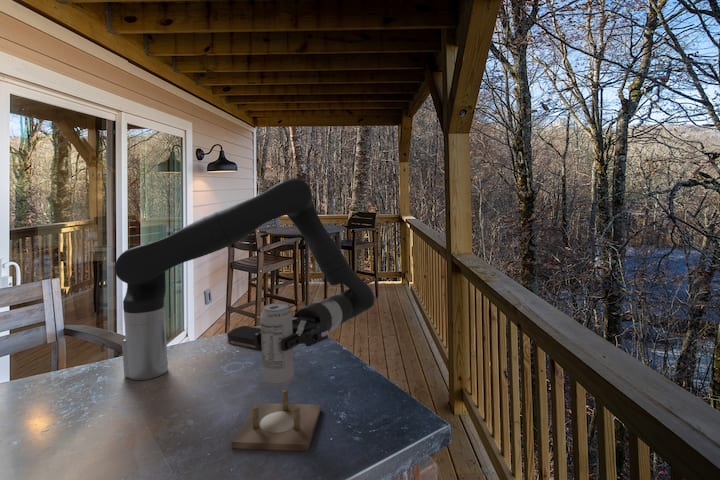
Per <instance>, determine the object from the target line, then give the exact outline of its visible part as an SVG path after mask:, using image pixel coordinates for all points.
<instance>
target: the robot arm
mask: <svg viewBox="0 0 720 480" xmlns="http://www.w3.org/2000/svg"><path fill="white" fill-rule="evenodd" d="M284 216H287V218H289V220H290V221H291V222H292V223H293V224H294V225H295V227H296V228H297V229H298V231H299V232H300V234H301V235H302V237H303V239H304V240H305V242H306V244H307V246H308V248H309V250H310V252H311V254H312V256H313V258H314V260H315V262H316V264H317V266H318V268H319V269H320V271H321V273H322V274H323V276H324V278H325V279H326V281H327V282H328V284H329V285H331V286H338V285H341V284H342V285H345V286H346V287H347V288H348V289H346V290H344V291H343V292H341V293H340V294H335V295H332V296H330V297H326V298H325V299H319V300H317V301H315V302H313V303H312V302H311V303H310V304H308V305H304V306H303V307H301V308H299V309H298V310H297V311H296V313H295V314H294V316H292V327H293V334H292V335H290V336H288V337H286V338H284V339H282V340H281V350H282V351H287V350H289V349H291V348H293V349H294V348H295V347H296V346H297V347H301V346H303V345H304V344H305V346H306V347H312V346H314V345H316V344H318V343H321V342H323V341H326V340H327V339H328V338H329V333H331V332H333V330H335V329H336V328H337V327H339V326H341V325H343V324H345V322H347V321H349V320H351V319H353V318H354V317H355V318H356V317H357V316H358V315H360V314H362V313H364V312H366V311H368V310H370V309H371V308H373V306H374V305H375V295H374V292H373V290H372V289H371V287H370V286H369V284H367V283H366V282H365V281H364V280H363V279H362V278H361V277H360V276H359V275H358V274H357V273H356V272H355V271H354V270H353V268H351V266H350V264H349V263H348V261H347V259H346V258H345V256H344V254H343V253H342V251H341V248H340V247H339V246H338V245H337V242H336V241H334V239H333V238H332V236H331V235H330V234H329V233H328V231H327V229H326V228H325V226H324V225H323V223H322V221H321V219H320V217H319V215H318V212H317V209H316V207H315V205H314V202H313V194H312V189H311V187H310V185H309V184H308V183H307V182H306V181H304V180H303V179H301V178H287V179H286V180H283V181H282V182H280V183H278V184H276V185H274V186H272V187H270V188H269V189H267V190H265V191H264V192H261V193H260V194H258V195H256V196H254V197H251V198H248V199H246V200H244V201H241V202H238V203H235V204H233V205H230V206H228V207H226V208H223V209H220V210H218V211H215V212H213V213H211V214H208V215H206V216H203V217H202V218H200V219H198V220H196V221H193V222H192V223H190V224H187V225H186V226H184V227H182V228H180V229H179V230H177V231H175V232H174V233H173V234H170V235H168V236H166V237H164V238H161V239H158V240H156V241H153V242H152V241H151V242H150V243H148V244H147V243H146V244H142V245H138V246H133V247H131V248H128V249H126V250H125V251H123V252H121V254H120V255H119V256H118V258H117V260H116V261H115V265H114V273H115V275H116V277H117V278H118V279H119V280H120V281H121V282H124V283H125V284H126V285H127V286H126V293H125V296H124V298H123V300H122V301H123V302H122V306H123V307H122V309H123V319H124V320H123V321H124V335H125V338H124V339H123V340H122V341H121V348H122V350H121V351H122V362H123V363H122V364H123V376H124V378H129V379H130V380H133V381H146V380H150V379H156V378H158V377H160V376H163V375H164V374H165V373H167V372H168V370H169V368H168V367H169V366H168V364H169V362H168V361H169V360H168V349H167V348H168V347H167V346H168V345H167V331H166V330H167V329H166V328H167V327H166V314H165V313H166V312H165V311H166V310H165V297H166V291H167V290H166V287H167V286H166V282H167V281H166V272H167V271H169V270H170V269H172V268H174V267H176V266H178V265H180V264H183V263H186V262H189V261H192V260H195V259H199V258H201V257H204V256H207V255H210V254H213V253H216V252H217V251H221V250H223V249H225V248H227V247H230V246H232V245H235V244H236V243H238V242H240V241H241V240H244V238H247V237H249V235H251V234H252V233H253V232H254V231H256V230H257V229H258V228H260V227H262V226H264V224H266V223H268V222H271V221H273V220H276V219H279V218H281V217H284ZM254 344H255V345H261V332H259V333H256V334H255V335H254Z"/></svg>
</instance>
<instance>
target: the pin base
mask: <svg viewBox="0 0 720 480" xmlns="http://www.w3.org/2000/svg"><path fill="white" fill-rule="evenodd" d="M281 395H282V397H281V398H282V399H281V400H282V401H281V403H272V402H271V403H270V402H256V403H255V404H254V406H252V408H251V410H250V412H249V414H248V415H247V417H246V418H245V420H244V421H243V423H242V425H241V426H240V427H239V429H238V431H237V433H236V434H235V435H234V438H232V440H231V443H230V445H231V449H243V450H244V449H245V450H247V449H248V450H269V451H270V450H273V451H297V452H299V451H303V452H309V448H310V446H311V443H312V439H313V437H314V434H315V430H316V427H317V424H318V421H319V417H320V414H321V411H322V405H321V404H310V403H309V404H308V403H306V404H305V403H304V404H303V403H289V390H288V389H284V390H282V391H281Z"/></svg>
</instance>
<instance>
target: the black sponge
mask: <svg viewBox="0 0 720 480" xmlns="http://www.w3.org/2000/svg"><path fill="white" fill-rule="evenodd" d="M259 332H261V327H260V328H259V327H254V326H248V325H241V326H238V327H235V328H233V329H231V330H230V331H229V332H227V333H226V335H227V343H228V344H232V345H236V346H237V345H238V346H243V347H248V348H253V349H256V350H262V346H261V345H255V344H254V335H255V334H256V333H259Z"/></svg>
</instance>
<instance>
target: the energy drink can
mask: <svg viewBox="0 0 720 480" xmlns="http://www.w3.org/2000/svg"><path fill="white" fill-rule="evenodd" d="M292 318H293V313H292V312H291V310H290V308H289V304H287V303H282V302H277V303H275V302H274V303H269V304H266V305H263V307H262V311H261V314H260V316H259V321H260V329H261V346H262V349H261V366H262V379H263V381H264V382H265V384H266V385H267V386H270V387H274V388H275V387H276V388H277V387H283V386H284V387H285V386H287V385H289V384H291V382H292V381H293V380H292V379H293V378H294V377H295V362H294V361H295V359H294V356H295V355H294V347H293V348H291V349H289V350H287V351H282V350H281V340H282V339H284V338H286V337H288V336H290V335H292V334H293V327H292Z"/></svg>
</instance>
